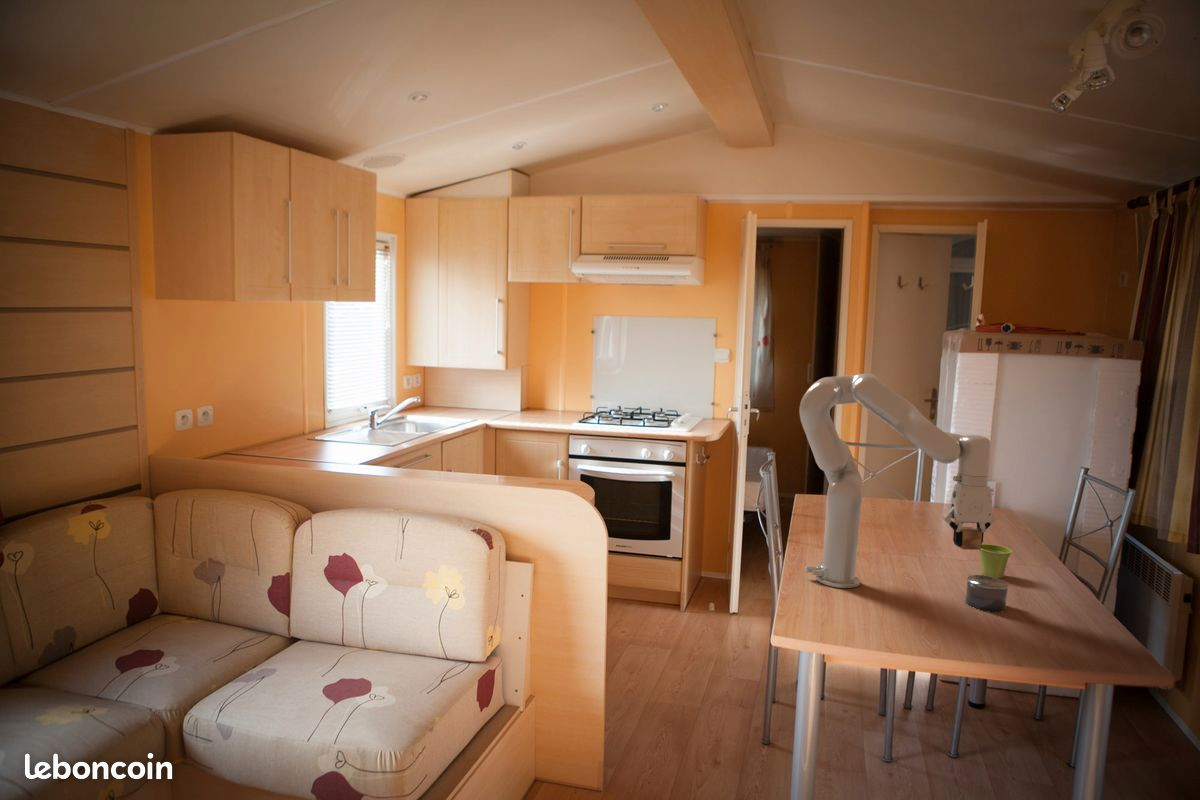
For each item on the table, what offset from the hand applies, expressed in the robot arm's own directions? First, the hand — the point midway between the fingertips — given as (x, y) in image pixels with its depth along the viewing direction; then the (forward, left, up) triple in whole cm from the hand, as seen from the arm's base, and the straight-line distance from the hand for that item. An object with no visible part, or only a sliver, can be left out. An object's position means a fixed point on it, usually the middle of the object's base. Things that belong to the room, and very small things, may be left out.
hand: (967, 544), depth 224 cm
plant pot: (+21, +23, -16) cm, 35 cm away
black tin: (+5, -3, -16) cm, 17 cm away
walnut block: (0, 0, -1) cm, 1 cm away
